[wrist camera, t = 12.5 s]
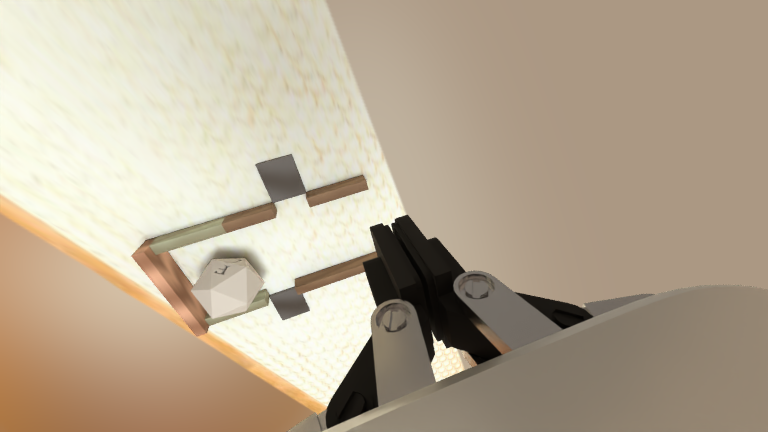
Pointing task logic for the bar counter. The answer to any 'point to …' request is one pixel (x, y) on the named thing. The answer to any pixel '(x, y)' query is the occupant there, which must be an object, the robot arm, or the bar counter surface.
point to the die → (227, 286)
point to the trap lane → (280, 186)
